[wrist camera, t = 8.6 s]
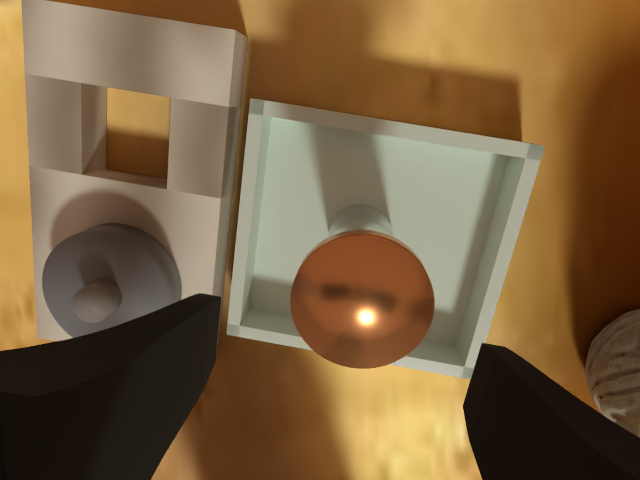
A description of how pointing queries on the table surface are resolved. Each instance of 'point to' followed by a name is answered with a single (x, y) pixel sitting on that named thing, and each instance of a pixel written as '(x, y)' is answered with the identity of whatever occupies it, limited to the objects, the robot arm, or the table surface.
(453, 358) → the tray
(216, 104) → the white holder block
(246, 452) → the table surface
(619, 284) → the table surface
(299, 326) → the pin
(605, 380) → the carving
